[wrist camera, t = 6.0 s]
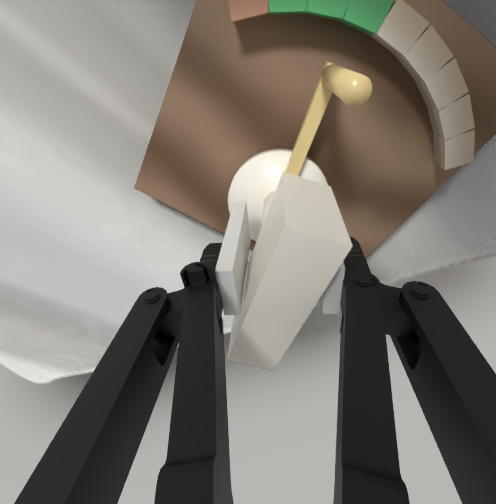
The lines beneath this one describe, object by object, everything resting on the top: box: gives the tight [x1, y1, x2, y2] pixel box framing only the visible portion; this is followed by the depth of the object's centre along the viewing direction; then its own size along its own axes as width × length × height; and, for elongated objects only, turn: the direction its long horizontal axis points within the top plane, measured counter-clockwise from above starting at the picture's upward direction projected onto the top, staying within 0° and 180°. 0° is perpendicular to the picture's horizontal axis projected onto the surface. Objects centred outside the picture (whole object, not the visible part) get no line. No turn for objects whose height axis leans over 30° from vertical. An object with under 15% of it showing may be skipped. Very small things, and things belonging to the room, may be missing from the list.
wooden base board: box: [134, 0, 496, 258], centre depth 19 cm, size 18×18×4 cm
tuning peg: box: [227, 62, 372, 371], centre depth 15 cm, size 7×12×11 cm, turn 164°
